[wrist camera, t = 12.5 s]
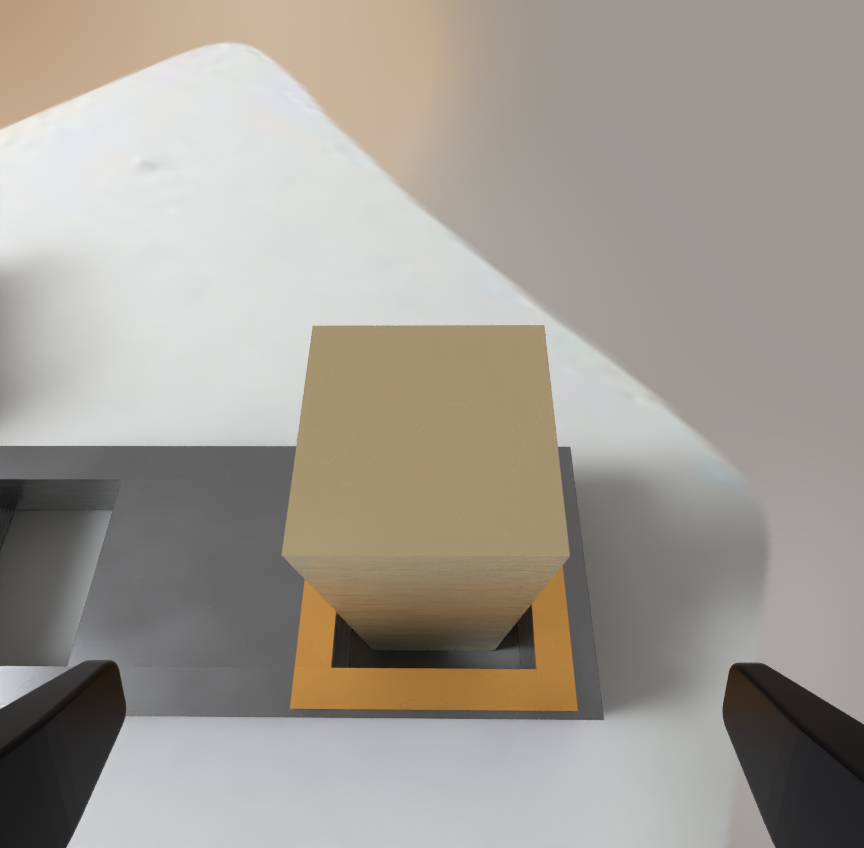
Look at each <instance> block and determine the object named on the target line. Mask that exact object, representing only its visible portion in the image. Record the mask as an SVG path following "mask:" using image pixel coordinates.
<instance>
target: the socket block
mask: <svg viewBox="0 0 864 848" xmlns="http://www.w3.org/2000/svg"><path fill="white" fill-rule="evenodd" d="M295 453H296V446H0V547H1V545H2V542H3V540H4V537H5V534H6V532H7V529H8V526H9V524H10V521H11V519H12V516H13V513H14V511H15V510H113V512H112V515H111V519H110V522H109V526H108V529H107V532H106V536H105V539H104V543H103V546H102V549H101V553H100V556H99V560H98V563H97V566H96V570H95V573H94V577H93V580H92V583H91V587H90V590H89V594H88V597H87V601H86V604H85V607H84V611H83V614H82V618H81V621H80V624H79V628H78V631H77V635H76V638H75V641H74V645H73V648H72V652H71V655H70V658H69V662H68V665H67V666H0V709H1V708H3V707H4V706H6V705H8V704H10V703H11V702H13V701H15V700H17V699H18V698H20V697H22V696H24V695H25V694H27V693H29V692H31V691H32V690H34V689H36V688H38V687H39V686H41V685H43V684H45V683H46V682H48V681H50V680H52V679H53V678H55V677H57V676H59V675H60V674H62V673H64V672H66V671H67V670H69V669H71V668H73V667H74V666H76V665H78V664H80V663H82V662H84V661H87V660H112V661H114V662H116V664H117V665H118V667H119V670H120V675H121V680H122V686H123V691H124V696H125V701H126V715H125V716H206V717H322V718H438V719H555V720H604V718H603V710H602V702H601V694H600V686H599V677H598V669H597V661H596V653H595V645H594V637H593V629H592V621H591V612H590V604H589V596H588V588H587V580H586V572H585V564H584V555H583V547H582V539H581V531H580V523H579V515H578V507H577V498H576V490H575V482H574V474H573V466H572V458H571V450H570V447H558V453H559V462H560V471H561V480H562V489H563V498H564V507H565V516H566V525H567V534H568V543H569V552H570V557H569V558H568V559H567V561H566V562H565V563H564V564H563V566H562V567H561V568H560V569H559V571H558V572H557V573H556V574H555V576H554V577H553V578H552V579H551V580H550V582H549V583H548V584H547V585H546V587H545V588H544V589H543V590H542V592H541V593H540V594H539V595H538V597H537V598H536V599H535V600H534V602H533V603H532V604H531V605H530V607H529V608H528V609H527V610H526V611H525V613H524V614H523V615H522V616H521V618H520V619H519V620H518V633H519V649H520V665H521V669H434V668H349V658H350V644H351V631H352V628H351V627H350V625H349V624H348V623H347V622H346V621H345V620H344V619H343V618H342V617H341V616H340V615H339V614H338V613H337V612H336V611H335V610H334V609H333V608H332V607H331V606H330V605H329V604H328V603H327V602H326V601H325V600H324V599H323V598H322V597H321V595H320V594H319V593H318V592H317V591H316V590H315V589H314V588H313V587H312V586H311V585H310V584H309V583H308V582H307V581H306V580H305V579H304V578H303V577H302V576H301V575H300V574H299V573H298V572H297V571H296V570H295V569H294V568H293V567H292V565H291V564H290V563H289V562H288V561H287V560H286V559H285V558H284V557H283V556H282V548H283V541H284V533H285V526H286V519H287V511H288V504H289V497H290V490H291V482H292V475H293V468H294V460H295Z"/></svg>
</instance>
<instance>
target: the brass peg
mask: <svg viewBox="0 0 864 848" xmlns="http://www.w3.org/2000/svg"><path fill="white" fill-rule="evenodd" d="M282 556H283V557H284V558H285V559H286V560H287V561H288V562H289V563H290V564H291V565H292V567H293V568H294V569H295V570H296V571H297V572H298V573H299V574H300V575H301V576H302V577H303V578H304V579H305V580H306V581H307V582H308V583H309V584H310V585H311V586H312V587H313V588H314V589H315V590H316V591H317V592H318V593H319V594H320V595H321V597H322V598H323V599H324V600H325V601H326V602H327V603H328V604H329V605H330V606H331V607H332V608H333V609H334V610H335V611H336V612H337V613H338V614H339V615H340V616H341V617H342V618H343V619H344V620H345V621H346V622H347V623H348V624H349V625H350V627H351V628H352V629H353V630H354V631H355V632H356V633H357V634H358V635H359V636H360V637H361V638H362V639H363V640H364V641H365V642H366V643H367V644H368V645H369V646H370V647H371V648H372V649H373V650H475V651H494V650H495V649H496V647H497V646H498V645H499V644H500V642H501V641H502V640H503V639H504V638H505V636H506V635H507V634H508V633H509V631H510V630H511V629H512V628H513V626H514V625H515V624H516V623H517V621H518V620H519V619H520V618H521V616H522V615H523V614H524V613H525V611H526V610H527V609H528V608H529V607H530V605H531V604H532V603H533V602H534V600H535V599H536V598H537V597H538V595H539V594H540V593H541V592H542V590H543V589H544V588H545V587H546V585H547V584H548V583H549V582H550V580H551V579H552V578H553V577H554V576H555V574H556V573H557V572H558V571H559V569H560V568H561V567H562V566H563V564H564V563H565V562H566V561H567V559H568V558H569V557H570V552H569V543H568V534H567V525H566V516H565V507H564V498H563V489H562V480H561V471H560V462H559V453H558V445H557V436H556V427H555V418H554V409H553V400H552V391H551V382H550V373H549V364H548V355H547V346H546V337H545V328H544V325H496V326H313V329H312V336H311V343H310V351H309V358H308V365H307V373H306V380H305V387H304V395H303V402H302V409H301V416H300V424H299V431H298V438H297V446H296V453H295V460H294V468H293V475H292V482H291V490H290V497H289V504H288V511H287V519H286V526H285V533H284V541H283V548H282Z"/></svg>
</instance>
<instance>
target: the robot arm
mask: <svg viewBox="0 0 864 848" xmlns="http://www.w3.org/2000/svg"><path fill="white" fill-rule="evenodd" d="M125 715H126V701H125V696H124V691H123V686H122V680H121V675H120V670H119V667H118V665H117V664H116V662H114V661H112V660H87V661H84V662H82V663H80V664H78V665H76V666H74V667H73V668H71V669H69V670H67V671H66V672H64V673H62V674H60V675H59V676H57V677H55V678H53V679H52V680H50V681H48V682H46V683H45V684H43V685H41V686H39V687H38V688H36V689H34V690H32V691H31V692H29V693H27V694H25V695H24V696H22V697H20V698H18V699H17V700H15V701H13V702H11V703H10V704H8V705H6V706H4V707H3V708H1V709H0V848H66V847H67V845H68V843H69V842H70V840H71V838H72V836H73V834H74V832H75V830H76V828H77V825H78V823H79V821H80V819H81V817H82V815H83V813H84V810H85V808H86V806H87V804H88V801H89V799H90V797H91V795H92V792H93V790H94V788H95V786H96V784H97V781H98V779H99V777H100V775H101V772H102V770H103V768H104V766H105V763H106V761H107V759H108V757H109V754H110V752H111V750H112V748H113V745H114V743H115V741H116V739H117V736H118V734H119V732H120V730H121V727H122V725H123V722H124V719H125ZM723 720H724V724H725V727H726V730H727V732H728V735H729V737H730V739H731V742H732V744H733V747H734V749H735V752H736V754H737V757H738V759H739V762H740V764H741V767H742V769H743V771H744V774H745V776H746V779H747V781H748V784H749V786H750V789H751V791H752V793H753V796H754V799H755V801H756V804H757V806H758V808H759V811H760V813H761V816H762V818H763V821H764V823H765V825H766V828H767V830H768V832H769V834H770V837H771V839H772V841H773V843H774V845H775V847H776V848H864V724H862V723H861V722H859V721H857V720H856V719H854V718H852V717H851V716H849V715H847V714H846V713H844V712H842V711H841V710H839V709H837V708H836V707H834V706H833V705H831V704H829V703H828V702H826V701H824V700H823V699H821V698H820V697H818V696H816V695H815V694H813V693H811V692H810V691H808V690H806V689H805V688H803V687H801V686H800V685H798V684H797V683H795V682H793V681H792V680H790V679H788V678H787V677H785V676H783V675H782V674H780V673H778V672H777V671H775V670H773V669H772V668H770V667H768V666H767V665H765V664H762V663H735V664H733V665H732V666H731V668H730V670H729V674H728V680H727V685H726V691H725V697H724V702H723Z"/></svg>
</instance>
